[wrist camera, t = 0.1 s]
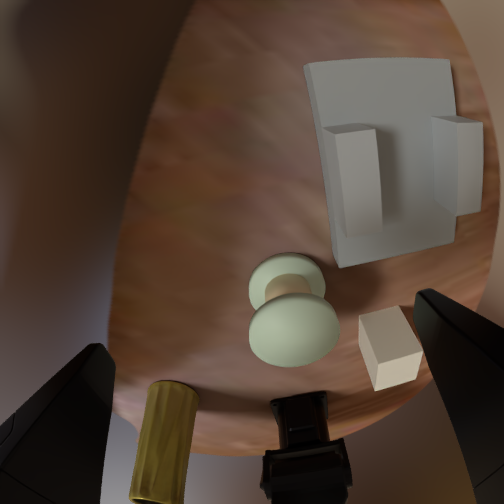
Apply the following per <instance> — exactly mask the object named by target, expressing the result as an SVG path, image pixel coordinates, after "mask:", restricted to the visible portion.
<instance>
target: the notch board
mask: <svg viewBox="0 0 504 504" xmlns="http://www.w3.org/2000/svg"><path fill="white" fill-rule="evenodd" d="M303 69H304V73H305V78H306V82H307V87H308V92H309V97H310V102H311V107H312V112H313V117H314V123H315V128H316V134H317V140H318V146H319V152H320V158H321V164H322V171H323V177H324V184H325V191H326V199H327V206H328V214H329V223H330V231H331V240H332V250H333V256H334V258H335V260H336V262H337V264H338V267H339V268H343V267H348V266H353V265H358V264H362V263H367V262H371V261H376V260H381V259H385V258H390V257H394V256H398V255H403V254H407V253H412V252H416V251H420V250H424V249H429V248H433V247H437V246H441V245H445V244H450V243H454V237H455V226H456V216H461V215H466V214H471V213H475V212H480V211H481V200H482V185H483V122H479V121H476V120H472V119H468V118H464V117H461V116H456V107H455V97H454V88H453V81H452V74H451V67H450V61H449V60H448V59H433V58H363V59H347V60H335V61H324V62H315V63H308V64H306V65H304V66H303Z"/></svg>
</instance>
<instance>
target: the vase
mask: <svg viewBox="0 0 504 504" xmlns="http://www.w3.org/2000/svg"><path fill="white" fill-rule="evenodd" d="M198 404H199V397H198V395H197V393H196V392H195V391H194V390H193V389H191V388H190V387H188V386H186V385H184V384H181V383H178V382H173V381H159V382H155V383H153V384H152V385H150V387H149V388H148V395H147V401H146V407H145V413H144V418H143V423H142V428H141V432H140V437H139V443H138V450H137V455H136V461H135V466H134V471H133V476H132V482H131V487H130V493H129V499H130V501H131V502H133V503H135V504H184V491H185V482H186V474H187V468H188V460H189V454H190V449H191V442H192V436H193V429H194V422H195V417H196V411H197V406H198Z"/></svg>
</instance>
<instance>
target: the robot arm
mask: <svg viewBox="0 0 504 504" xmlns="http://www.w3.org/2000/svg"><path fill="white" fill-rule="evenodd" d="M413 320H414V324H415V327H416V329H417V332H418V335H419V338H420V341H421V344H422V347H423V350H424V353H425V356H426V360H427V363H428V366H429V368H430V371H431V373H432V376H433V378H434V380H435V382H436V385H437V387H438V390H439V392H440V394H441V397H442V400H443V402H444V404H445V407H446V410H447V412H448V415H449V417H450V420H451V422H452V425H453V428H454V431H455V434H456V436H457V439H458V442H459V445H460V448H461V451H462V454H463V457H464V460H465V463H466V466H467V470H468V473H469V476H470V480H471V483H472V486H473V488H474V489H473V491H474V495H475V498H476V502H477V504H504V328H502V327H500V326H498V325H497V324H495V323H493V322H492V321H490V320H488V319H486V318H485V317H483V316H481V315H479V314H478V313H476V312H474V311H472V310H470V309H469V308H467V307H465V306H463V305H461V304H459V303H458V302H456V301H454V300H452V299H450V298H448V297H447V296H445V295H443V294H441V293H439V292H437V291H435V290H433V289H431V288H428V289H424V290H420V291H418V292H417V293H416V297H415V304H414V311H413ZM115 371H116V366H115V362H114V360H113V358H112V357H111V356H110V354H109V353H108V351H107V350H106V348H105V347H104V345H103V344H101V343H91V344H89V345H87V346H86V347H85V348H84V349H83V350H82V351H81V352H79V353H78V354H77V355H76V356H75V357H74V358H73V359H72V360H71V361H69V362H68V363H67V364H66V365H65V366H64V367H63V368H62V369H61V370H59V371H58V372H57V373H56V374H55V375H54V376H53V377H52V378H51V379H50V380H48V381H47V382H46V383H45V384H44V385H43V386H42V387H41V388H40V389H39V390H38V391H37V392H36V393H35V394H33V396H31V397H30V398H29V399H28V400H27V401H26V402H25V403H24V404H23V405H22V406H21V407H20V408H18V409H17V410H16V412H15V413H13V414H12V415H11V416H10V417H9V418H8V419H7V420H6V421H5V422H4V423H3V424H2V425H1V426H0V504H100V496H101V486H102V485H101V484H102V476H103V467H104V460H105V459H104V458H105V451H106V445H107V438H108V432H109V425H110V419H111V413H112V404H113V391H114V380H115ZM270 404H271V408H272V411H273V414H274V416H275V419H276V422H277V425H278V428H279V442H280V449H278V450H266V451H265V456H263V471H262V477H261V481H260V488H261V489H262V490H263V491H265V494H266V497H267V499H268V500H271V503H272V504H347V499H348V492H347V489H348V488H352V474H351V468H350V463H349V459H348V455H347V451H346V447H345V443H344V439H343V438H339V439H338V440H333V441H330V437H329V431H328V426H327V420H326V419H328V408H327V395H326V392H318V393H313V394H308V395H302V396H297V397H291V398H284V399H278V400H272V401H271V402H270Z"/></svg>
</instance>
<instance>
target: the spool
mask: <svg viewBox="0 0 504 504" xmlns="http://www.w3.org/2000/svg"><path fill="white" fill-rule="evenodd" d="M325 290H326V286H325V281H324V278H323V275H322V272H321V270H320V268H319V266H318V265H317V264H316V263H315V262H314V261H313V260H311V259H310V258H308V257H306V256H304V255H301V254H297V253H281V254H277V255H273V256H271V257H269V258H267V259H265V260H264V261H262V262H261V263H260V264H259V265H258V266H257V267H256V268H255V269H254V271H253V272H252V275H251V277H250V281H249V297H250V301H251V304H252V305H253V307H254V308H255V310H256V312H255V313H254V314H253V316H252V318H251V321H250V325H249V342H250V346H251V349H252V350H253V352H254V353H255V354H256V356H257V357H259V358H260V359H261V360H263V361H265V362H267V363H269V364H272V365H275V366H281V367H297V366H303V365H307V364H310V363H313V362H315V361H317V360H319V359H321V358H322V357H324V356H325V355H327V354H328V353H329V352H330V351H331V350H332V349H333V348H334V346H335V345H336V343H337V341H338V339H339V335H340V325H339V322H338V319H337V316H336V313H335V310H334V309H333V307H332V306H331V305H330V303H328V302H327V301H326V300H325V299H323V298H324V295H325Z"/></svg>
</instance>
